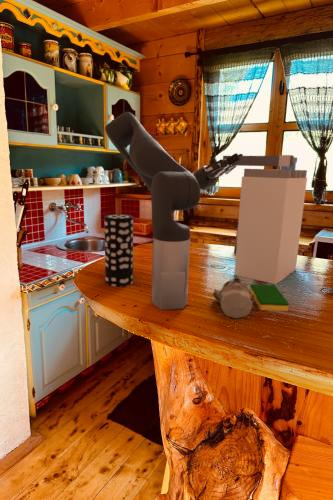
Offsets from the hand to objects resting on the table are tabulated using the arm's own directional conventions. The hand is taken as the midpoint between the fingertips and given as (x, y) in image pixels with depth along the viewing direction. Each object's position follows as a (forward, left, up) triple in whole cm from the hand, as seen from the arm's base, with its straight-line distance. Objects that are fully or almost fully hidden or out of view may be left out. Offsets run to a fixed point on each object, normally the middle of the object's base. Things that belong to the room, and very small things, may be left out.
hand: (240, 156), depth 109 cm
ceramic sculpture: (-33, +10, -39) cm, 52 cm away
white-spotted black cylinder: (-11, +39, -38) cm, 56 cm away
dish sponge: (-28, -1, -39) cm, 48 cm away
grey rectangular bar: (-4, -4, -3) cm, 6 cm away
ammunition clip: (+22, -14, -39) cm, 47 cm away
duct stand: (-4, -11, -38) cm, 40 cm away
